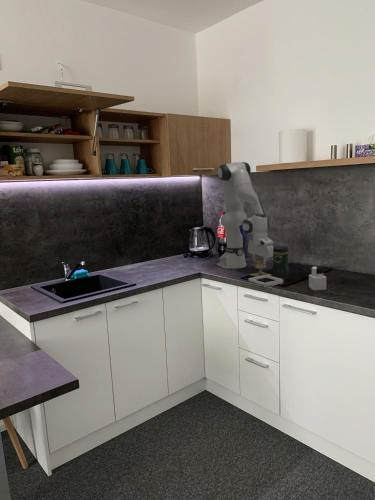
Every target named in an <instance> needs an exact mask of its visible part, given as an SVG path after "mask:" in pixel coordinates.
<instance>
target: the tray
mask: <svg viewBox="0 0 375 500" xmlns="http://www.w3.org/2000/svg"><path fill="white" fill-rule="evenodd" d="M266 278H267V279H270V280H273V281H267V282H263V281H259V280H261V279H266ZM247 280H248V282H251V283H254V284H257V285H260V287H262V288H270V287H274V286H278V284H280V285H283V284H284V278H279V277H276V276H272V275H263V276H258V277H256V276H253V277H249V278H248V279H247Z"/></svg>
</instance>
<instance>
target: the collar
mask: <svg viewBox="0 0 375 500" xmlns="http://www.w3.org/2000/svg"><path fill="white" fill-rule="evenodd" d="M262 261H264V258H257V259H255V261H254V262H252V266H253V267H255V269H258V270H259V269H261V268H263V269H266V268H267V263H266V264H263V263H262Z"/></svg>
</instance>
